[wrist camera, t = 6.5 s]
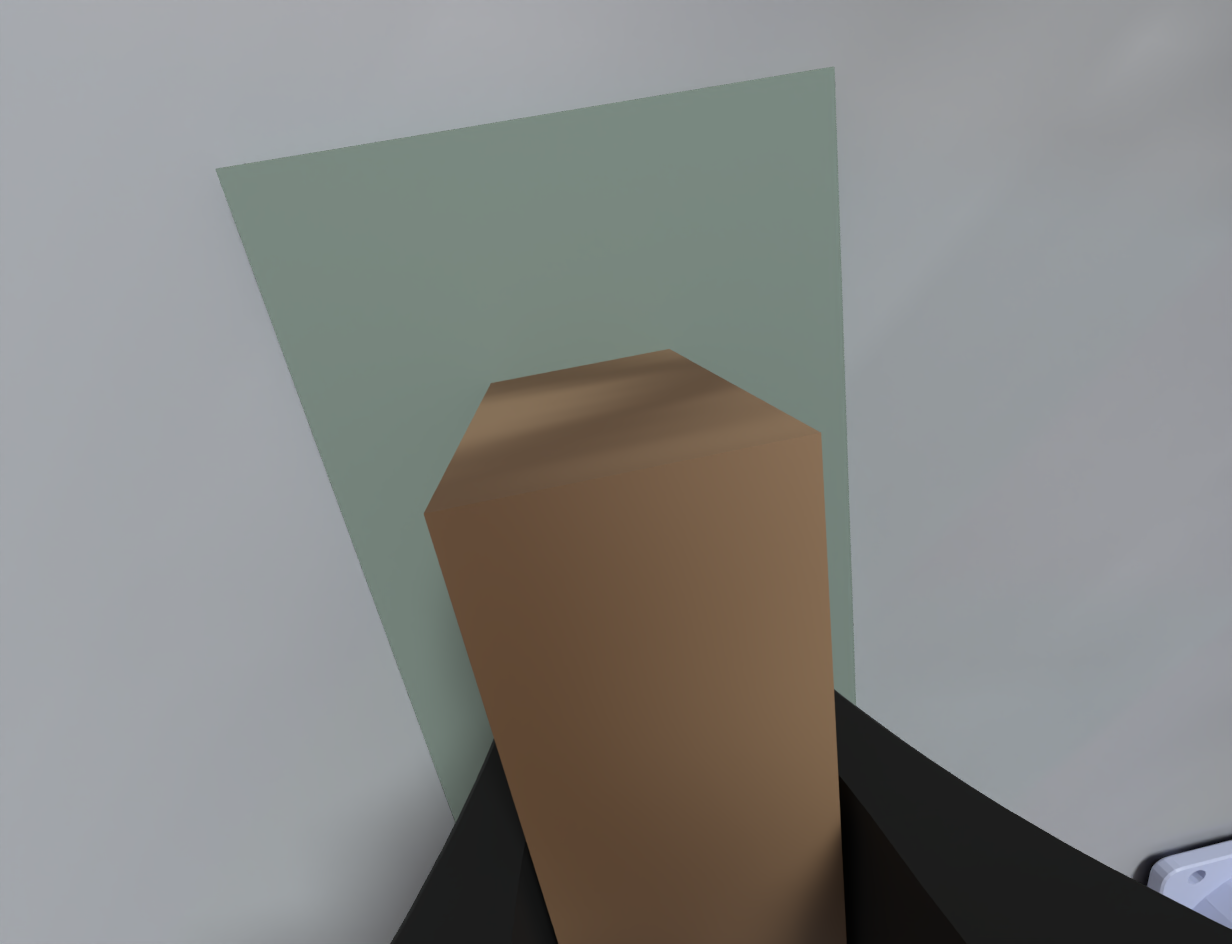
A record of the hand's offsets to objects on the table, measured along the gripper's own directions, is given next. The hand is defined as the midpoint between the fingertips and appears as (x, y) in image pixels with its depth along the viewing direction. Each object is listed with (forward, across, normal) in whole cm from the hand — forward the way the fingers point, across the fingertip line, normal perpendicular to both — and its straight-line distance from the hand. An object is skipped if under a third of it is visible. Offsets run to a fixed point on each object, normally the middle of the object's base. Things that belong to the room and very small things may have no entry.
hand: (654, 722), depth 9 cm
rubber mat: (+3, 0, 0) cm, 3 cm away
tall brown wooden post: (+2, 0, +1) cm, 2 cm away
